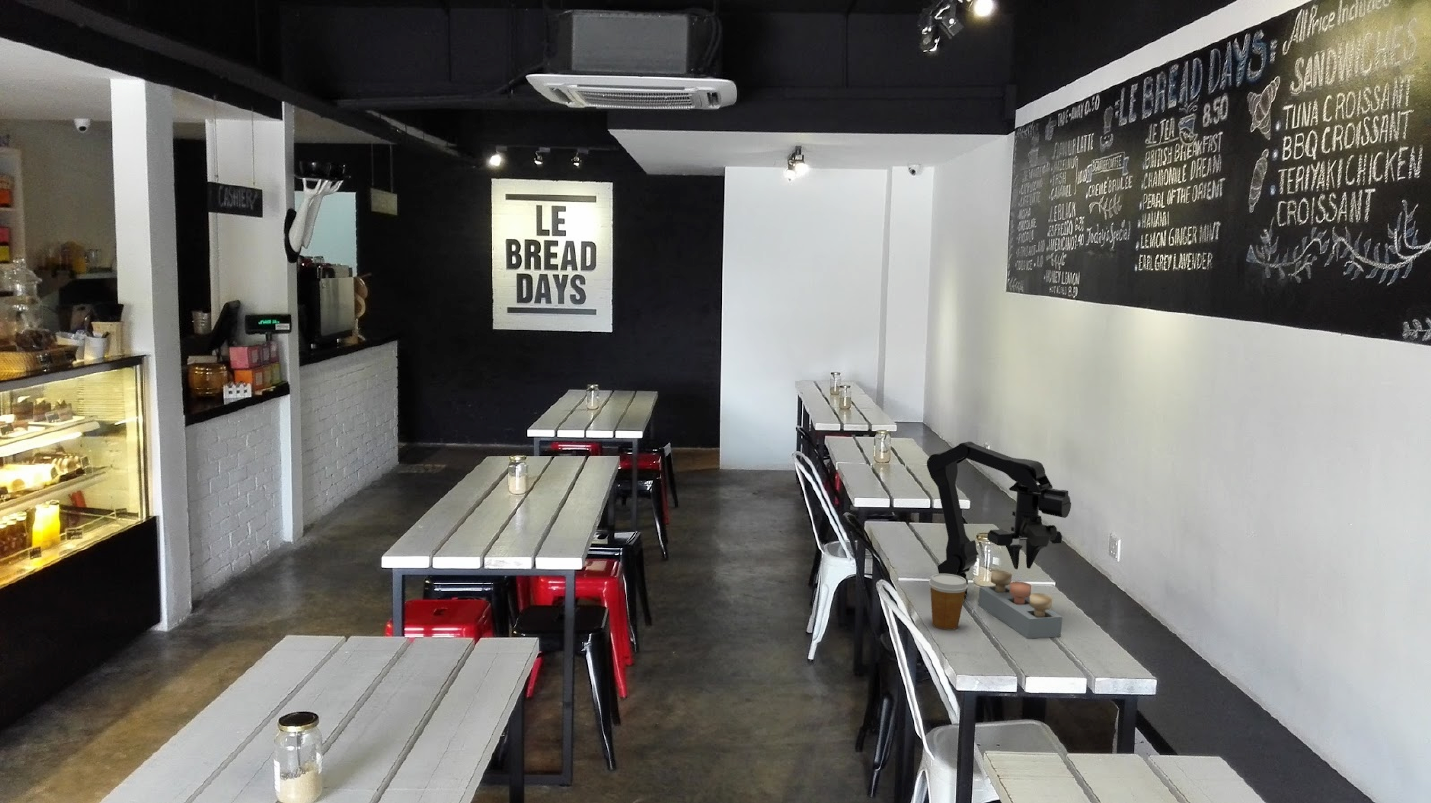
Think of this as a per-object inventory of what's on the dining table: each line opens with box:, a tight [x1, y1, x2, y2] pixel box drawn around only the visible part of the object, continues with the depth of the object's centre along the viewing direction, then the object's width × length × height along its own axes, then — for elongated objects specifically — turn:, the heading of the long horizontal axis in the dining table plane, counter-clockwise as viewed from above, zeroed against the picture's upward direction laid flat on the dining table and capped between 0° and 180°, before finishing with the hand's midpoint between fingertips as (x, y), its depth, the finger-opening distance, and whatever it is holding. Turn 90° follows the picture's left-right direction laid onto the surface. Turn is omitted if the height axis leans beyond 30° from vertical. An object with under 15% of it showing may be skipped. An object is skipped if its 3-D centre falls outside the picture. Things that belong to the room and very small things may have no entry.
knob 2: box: [1029, 592, 1053, 618], centre depth 251 cm, size 5×5×7 cm
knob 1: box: [990, 569, 1013, 593], centre depth 268 cm, size 5×5×7 cm
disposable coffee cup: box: [928, 573, 969, 630], centre depth 254 cm, size 10×10×12 cm
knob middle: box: [1009, 580, 1032, 605], centre depth 259 cm, size 5×5×7 cm
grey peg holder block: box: [977, 585, 1063, 640], centre depth 260 cm, size 9×24×5 cm, turn 15°
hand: (1022, 568), depth 264 cm, fingers open, 3 cm apart
